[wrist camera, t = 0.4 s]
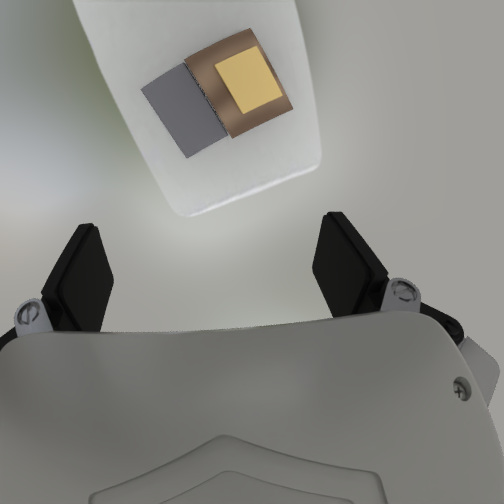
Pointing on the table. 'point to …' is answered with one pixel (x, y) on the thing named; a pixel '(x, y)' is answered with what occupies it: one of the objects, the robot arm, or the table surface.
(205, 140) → the charcoal mat
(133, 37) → the table surface
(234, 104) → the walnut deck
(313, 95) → the table surface
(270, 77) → the ochre tile
